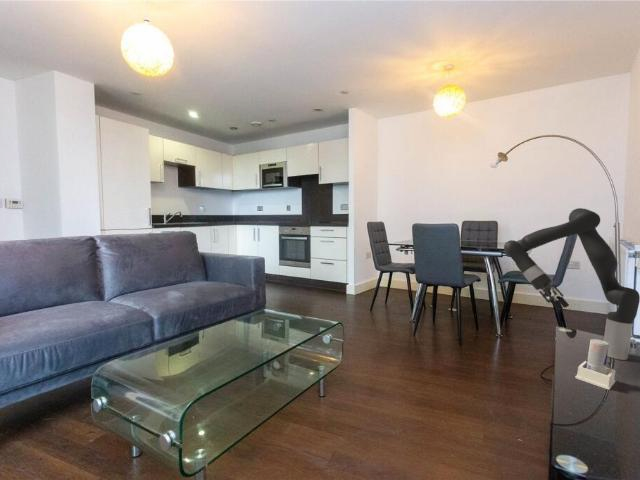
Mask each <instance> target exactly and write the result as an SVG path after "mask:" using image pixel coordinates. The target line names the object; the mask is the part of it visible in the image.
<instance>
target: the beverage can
mask: <svg viewBox="0 0 640 480" xmlns="http://www.w3.org/2000/svg"><path fill="white" fill-rule="evenodd" d="M608 345H609V344H608V343H607V342H605V341H604V340H602V339H596V338H592V339H590V342H589V348H588V354H587V367H586V369H589V370H592V371H595V372H598V373H601V374H605V367H606V368H607V366H606V365H607V358H608V356H607V353H608Z"/></svg>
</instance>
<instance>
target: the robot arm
mask: <svg viewBox="0 0 640 480" xmlns="http://www.w3.org/2000/svg"><path fill="white" fill-rule="evenodd" d="M600 224H601V216H600V215H599V214H598V213H597V212H595V211H592V210H591V209H587V208H581V207H580V208H579V207H578V208H575V209H573V210H571V211H570V213H569V215H568V221H567V222H565V223H562V224H558V225H555V226H554V225H553V226H549V227H545V228H541V229H538V230H535V231H533V232H531V233H528V234H527V235H524V236H523V237H522V238H521V239H519V240H508V241H506V242H505V243H504V245H503V246H504V247H503V251H504V254H505V255H506V256H507V257H508V258H511V259H512V260H513V261H514V263H515V265H516V267H517V268H518V270H519V271H520V272H521V273H522V274H523V275H524V277H525V279H526V280H527V281H528V282H529V283H530V284H531V286H532V287H533V288H534V289H535V290H536V291H538V293H539V294H540V295H541V296H542V297H543V299H544V300H545V301H546V302H547V303H548V304H552V305H553V307H554V308H555V309H556V310H557V311H561V310H562V309H564V308H568V307H569V306H570V304H569V303H568V302H567V301H566V299H564V294H563V293H562V292H561V291H560V289H558V288H557V287H556V286H555V284H553V285H551V283H552V282H553V280H552V279H551V277H549V276H548V275H547V273H546V272H545V271H544V270H543V269H542V268H541V267H540V266H539V265H538V264H537V263H536V261H534V260H533V259H532V257H530V255H529V254H528V253H527V252H529V251H531V250H533V249H536V248H538V247H541V246H544V245H547V244H548V243H551V242H554V241H557V240H560V239H564V238H567V237H570V236H573V235H577V236H578V238H579V241H580V242H581V245H582V247H583V249H584V251H585V253H586V256H587V258H588V260H589V262H590V264H591V266H592V268H593V270H594V271H595V274H596V276H597V279H598V280H599V283H600V285H601V289H602V291H603V294H604V296H605V299H606V300H607V302H609V303H610V304H612V305H616V306H618V307H617V309H616V311H609V312H608V313H607V314H606V315H607V316H606V322H605V327H604V328H605V329H604V336H603V341H605V342H607V343H608V344H609V345H608V353H607V358H608V357H609V358H611V359H615V360H621V361H627V360H628V359H629V354H630V353H629V351H630V346H631V339H632V332H633V327H634V326H633V325H634V320H635V319H636V317H637V314H638V310H639V309H638V308H639V305H640V293H639V291H638V290H637V289H633V288H630V287H625V286H622V285H621V284H620V283H619V281H618V280H617V277H616V271H617V268H618V260H617V257H616V255H615V253H614V250H612V248H611V247H610V246H609V244H608V242H607V241H605V239H604V238H603V237H602V236H601V235H600V234H599V232H598V230H597V227H598V226H599V225H600Z"/></svg>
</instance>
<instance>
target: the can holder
mask: <svg viewBox="0 0 640 480" xmlns="http://www.w3.org/2000/svg"><path fill="white" fill-rule="evenodd" d="M586 367H587V361H586V360H584V361H583V362H582V363H580V364H579V366H578V367H577V374H576V375H575V377H574V378H575V379H576V380H580V381H583V382H586V383H588V384H591V385H594V386H597V387H599V388H602V389H606V390H610V389H611V388H612V387H613V386H614V384H615V383H616V379H615V375H616V370H615V369H612V368H609V367H607V366H606V367H605V374H601V373H598V372H595V371H592V370H589V369H586Z"/></svg>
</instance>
